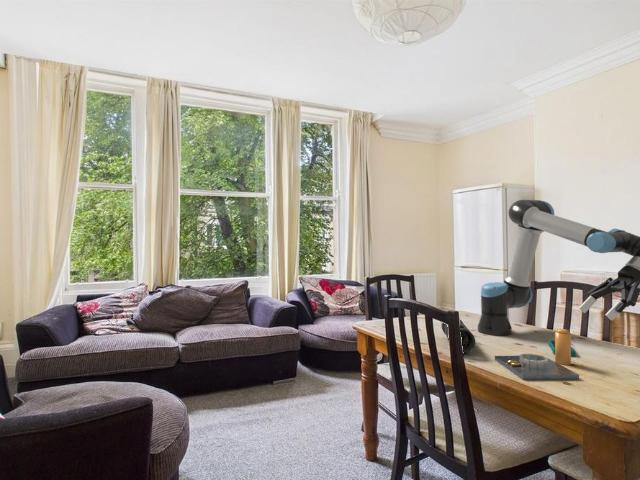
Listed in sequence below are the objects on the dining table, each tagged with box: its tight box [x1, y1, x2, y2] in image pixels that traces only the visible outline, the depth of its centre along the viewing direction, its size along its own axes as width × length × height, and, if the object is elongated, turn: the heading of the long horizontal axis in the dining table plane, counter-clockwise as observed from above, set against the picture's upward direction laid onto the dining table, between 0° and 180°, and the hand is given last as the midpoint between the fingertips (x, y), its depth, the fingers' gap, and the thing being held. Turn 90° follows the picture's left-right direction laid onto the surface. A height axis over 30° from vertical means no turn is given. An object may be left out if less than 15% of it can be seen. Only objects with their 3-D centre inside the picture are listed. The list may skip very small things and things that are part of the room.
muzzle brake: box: [441, 319, 476, 355], centre depth 162 cm, size 10×28×10 cm, turn 170°
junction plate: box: [494, 353, 580, 381], centre depth 132 cm, size 20×18×4 cm
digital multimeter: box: [548, 339, 576, 357], centre depth 153 cm, size 7×15×3 cm, turn 156°
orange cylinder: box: [554, 328, 572, 366], centre depth 138 cm, size 5×5×12 cm
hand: (594, 314), depth 138 cm, fingers open, 13 cm apart
